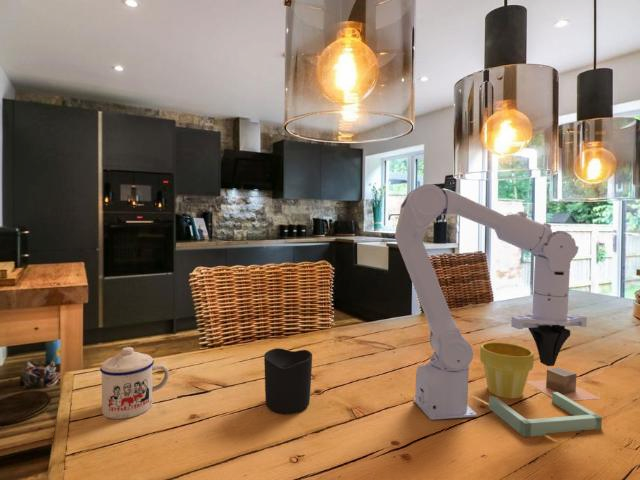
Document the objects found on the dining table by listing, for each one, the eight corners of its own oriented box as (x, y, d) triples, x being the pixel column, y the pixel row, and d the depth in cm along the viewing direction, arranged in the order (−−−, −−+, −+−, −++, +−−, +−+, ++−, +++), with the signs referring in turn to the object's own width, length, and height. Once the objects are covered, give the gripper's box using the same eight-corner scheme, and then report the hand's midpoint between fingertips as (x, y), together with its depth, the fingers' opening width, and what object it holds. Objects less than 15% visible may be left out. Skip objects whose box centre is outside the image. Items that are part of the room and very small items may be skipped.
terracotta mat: (558, 403, 79) (558, 401, 79) (524, 382, 89) (524, 381, 89) (600, 400, 81) (600, 398, 81) (562, 380, 91) (562, 378, 91)
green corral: (524, 437, 67) (525, 423, 66) (488, 408, 77) (489, 396, 76) (601, 430, 69) (601, 417, 69) (556, 403, 79) (557, 392, 79)
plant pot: (486, 378, 91) (488, 338, 91) (536, 391, 85) (538, 348, 84) (472, 393, 83) (474, 348, 83) (525, 409, 77) (528, 361, 76)
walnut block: (563, 394, 82) (564, 376, 82) (545, 387, 86) (546, 369, 86) (575, 391, 84) (576, 373, 84) (557, 384, 88) (558, 367, 88)
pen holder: (291, 389, 83) (292, 344, 83) (321, 405, 76) (322, 356, 76) (254, 403, 77) (254, 353, 76) (283, 421, 70) (283, 367, 69)
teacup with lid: (103, 425, 67) (102, 360, 67) (98, 404, 75) (97, 345, 74) (174, 408, 74) (174, 348, 74) (163, 390, 82) (163, 336, 81)
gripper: (531, 298, 68) (527, 374, 69) (602, 297, 70) (598, 370, 71) (505, 291, 75) (502, 360, 76) (571, 290, 77) (567, 356, 78)
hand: (547, 364), depth 74 cm, fingers closed
